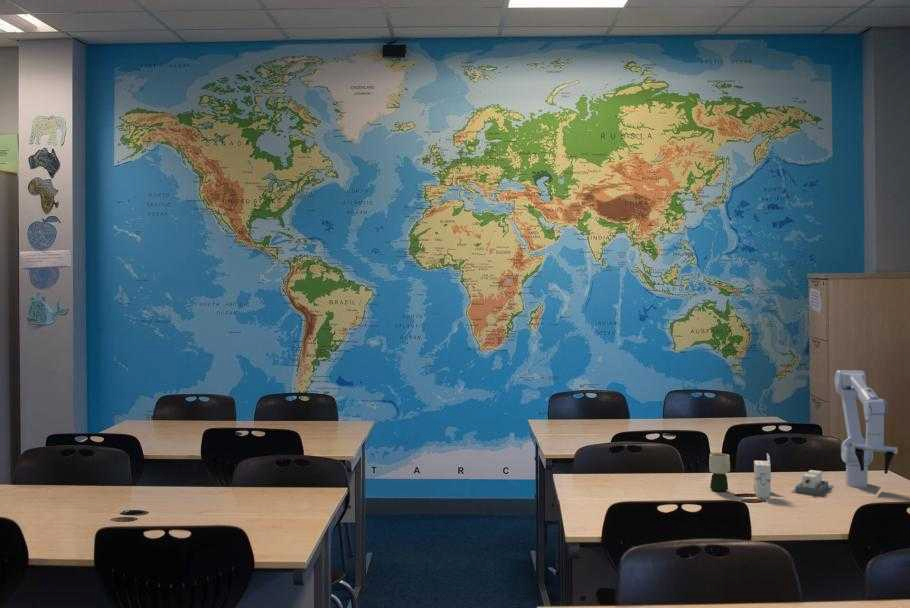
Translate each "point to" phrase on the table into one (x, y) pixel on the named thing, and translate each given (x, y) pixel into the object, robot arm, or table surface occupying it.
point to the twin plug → (819, 475)
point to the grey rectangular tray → (813, 489)
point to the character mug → (719, 470)
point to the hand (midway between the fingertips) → (874, 471)
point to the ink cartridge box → (762, 478)
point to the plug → (809, 481)
